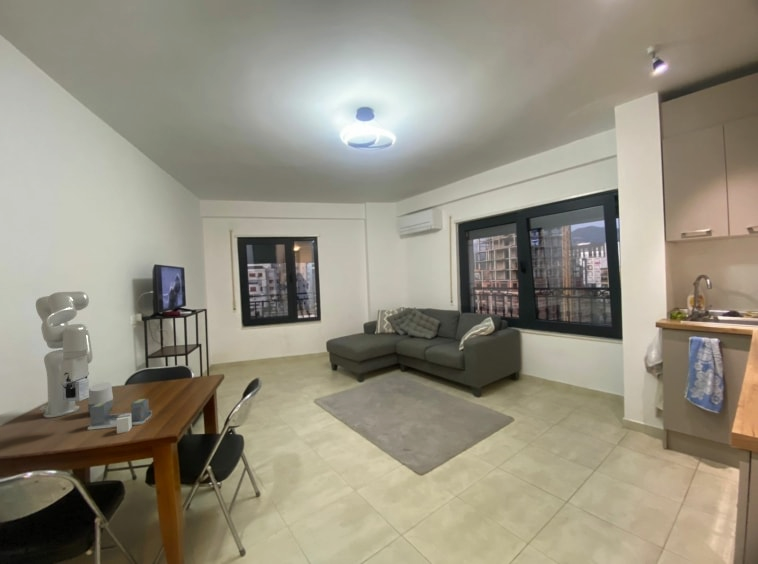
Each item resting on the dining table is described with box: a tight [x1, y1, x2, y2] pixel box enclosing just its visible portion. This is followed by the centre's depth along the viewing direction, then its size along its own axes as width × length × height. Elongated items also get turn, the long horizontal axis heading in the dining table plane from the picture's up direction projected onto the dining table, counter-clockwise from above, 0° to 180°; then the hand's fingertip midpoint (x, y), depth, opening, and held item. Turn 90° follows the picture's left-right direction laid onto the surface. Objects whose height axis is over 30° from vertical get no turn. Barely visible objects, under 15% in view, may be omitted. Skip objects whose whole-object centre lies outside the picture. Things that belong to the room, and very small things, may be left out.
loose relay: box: [116, 414, 133, 434], centre depth 135 cm, size 4×5×6 cm
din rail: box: [87, 398, 153, 431], centre depth 143 cm, size 21×9×10 cm, turn 101°
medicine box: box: [63, 378, 90, 402], centre depth 138 cm, size 8×4×9 cm, turn 86°
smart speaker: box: [87, 381, 114, 414], centre depth 156 cm, size 10×9×14 cm
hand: (76, 394), depth 138 cm, fingers closed on medicine box, 5 cm apart
